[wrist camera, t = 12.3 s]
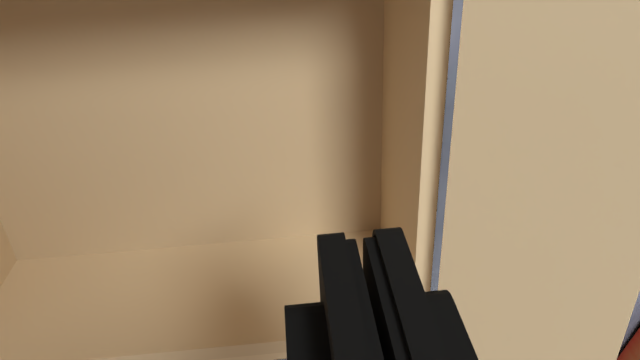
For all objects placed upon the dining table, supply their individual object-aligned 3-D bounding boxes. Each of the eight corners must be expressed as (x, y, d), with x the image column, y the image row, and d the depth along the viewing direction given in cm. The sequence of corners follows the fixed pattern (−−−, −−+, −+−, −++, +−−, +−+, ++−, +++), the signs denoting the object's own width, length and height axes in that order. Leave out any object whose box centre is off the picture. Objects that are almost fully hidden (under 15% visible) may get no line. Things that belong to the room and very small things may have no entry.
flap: (433, 344, 20) (438, 337, 20) (594, 423, 17) (598, 413, 17) (470, -82, 13) (477, -83, 13) (760, -75, 10) (762, -78, 10)
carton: (-141, -105, 18) (-344, -88, 12) (400, -133, 19) (463, -129, 13) (16, 270, 26) (-59, 394, 20) (389, 238, 27) (425, 346, 21)
